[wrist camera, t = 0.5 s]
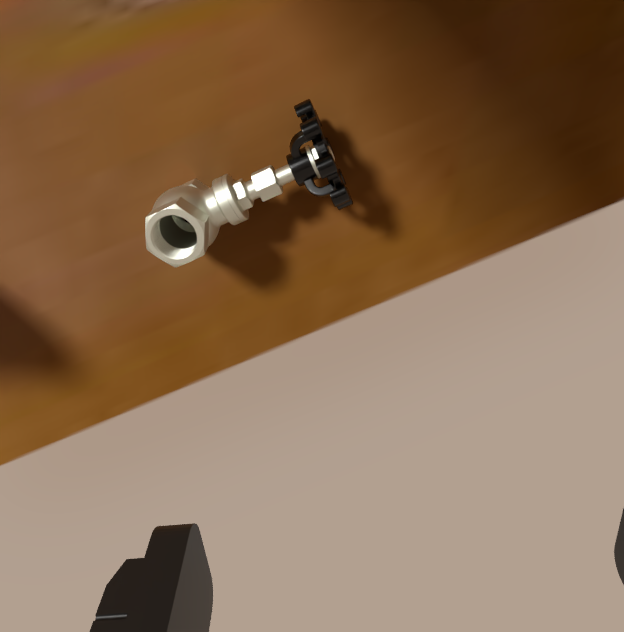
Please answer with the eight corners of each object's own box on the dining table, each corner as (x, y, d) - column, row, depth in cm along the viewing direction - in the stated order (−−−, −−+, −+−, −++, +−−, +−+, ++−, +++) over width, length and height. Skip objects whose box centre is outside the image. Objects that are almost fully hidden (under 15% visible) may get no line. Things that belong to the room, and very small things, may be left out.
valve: (193, 260, 38) (349, 190, 36) (172, 299, 32) (358, 218, 30) (142, 174, 36) (309, 93, 34) (111, 199, 30) (310, 104, 28)
